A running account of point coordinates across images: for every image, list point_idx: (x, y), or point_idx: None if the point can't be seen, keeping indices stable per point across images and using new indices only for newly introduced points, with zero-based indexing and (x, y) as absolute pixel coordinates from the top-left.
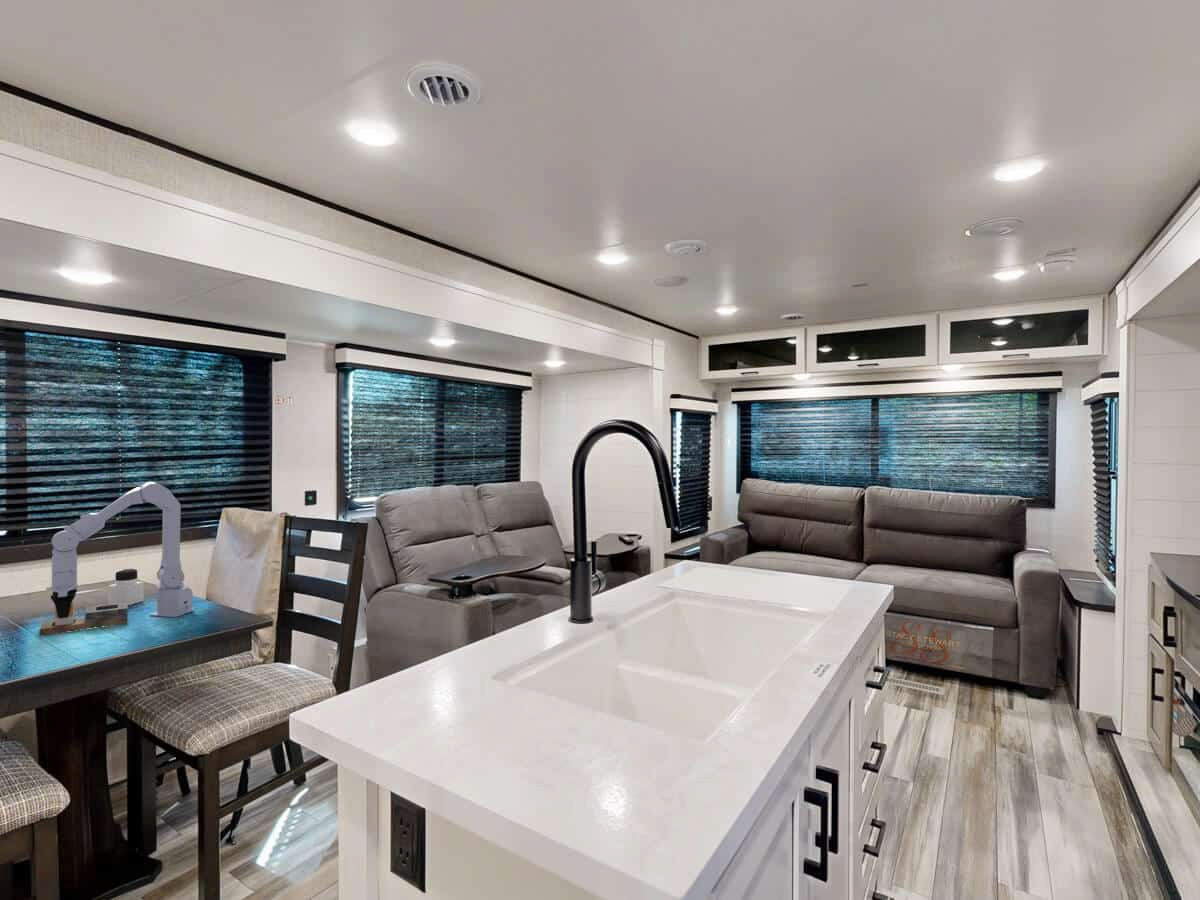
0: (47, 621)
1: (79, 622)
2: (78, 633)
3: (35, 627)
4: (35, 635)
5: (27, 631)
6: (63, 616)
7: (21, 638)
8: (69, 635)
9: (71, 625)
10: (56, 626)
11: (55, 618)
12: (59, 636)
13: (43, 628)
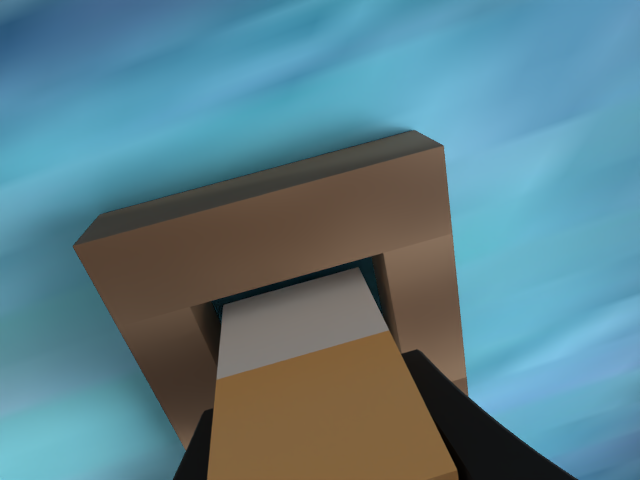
0: (432, 191)
1: None
2: (126, 450)
3: (497, 38)
4: (142, 163)
5: (350, 13)
6: None
7: (39, 63)
8: (76, 420)
9: (183, 439)
10: (160, 354)
11: (218, 377)
12: (57, 368)
13: (102, 269)
